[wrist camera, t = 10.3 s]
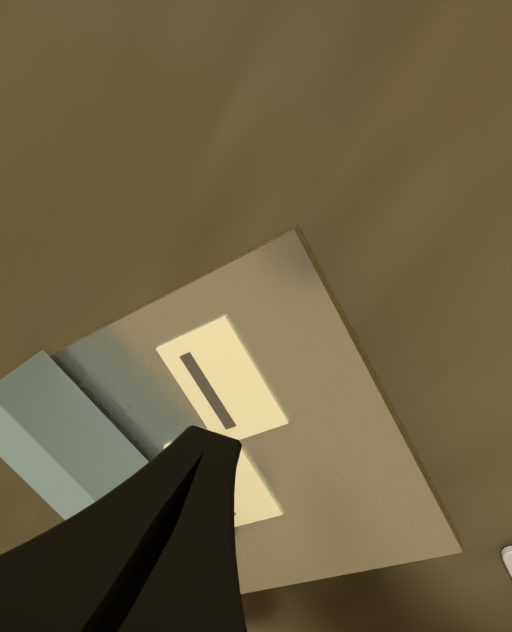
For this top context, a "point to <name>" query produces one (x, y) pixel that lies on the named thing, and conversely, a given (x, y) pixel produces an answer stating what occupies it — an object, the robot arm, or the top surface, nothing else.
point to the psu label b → (250, 491)
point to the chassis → (297, 403)
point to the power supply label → (222, 380)
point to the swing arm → (61, 438)
